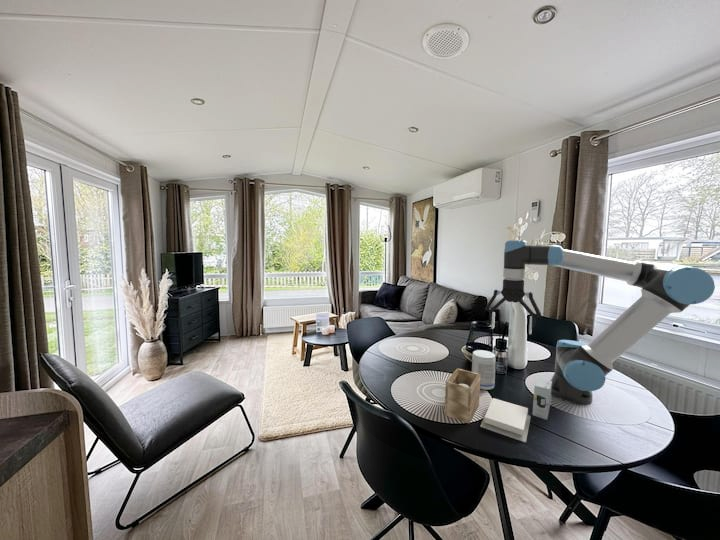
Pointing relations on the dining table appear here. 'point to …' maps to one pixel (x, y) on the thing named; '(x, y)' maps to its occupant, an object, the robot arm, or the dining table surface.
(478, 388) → the box
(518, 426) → the lid
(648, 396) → the dining table surface
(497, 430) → the mat
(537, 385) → the ink box
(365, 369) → the dining table surface
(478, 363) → the supplement tub
